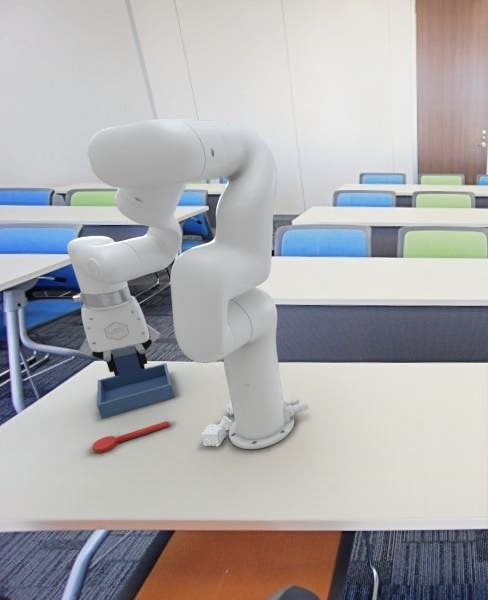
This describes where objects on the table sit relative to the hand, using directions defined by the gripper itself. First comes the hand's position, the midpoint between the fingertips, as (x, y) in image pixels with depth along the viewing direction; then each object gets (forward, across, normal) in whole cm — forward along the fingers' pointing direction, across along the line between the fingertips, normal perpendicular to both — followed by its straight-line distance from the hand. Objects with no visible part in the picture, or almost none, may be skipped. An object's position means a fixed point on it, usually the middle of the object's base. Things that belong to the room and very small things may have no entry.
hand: (129, 369), depth 90 cm
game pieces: (+7, +14, -23) cm, 28 cm away
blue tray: (+7, 0, 0) cm, 7 cm away
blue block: (0, 0, 0) cm, 0 cm away
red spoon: (+7, -2, -16) cm, 18 cm away
